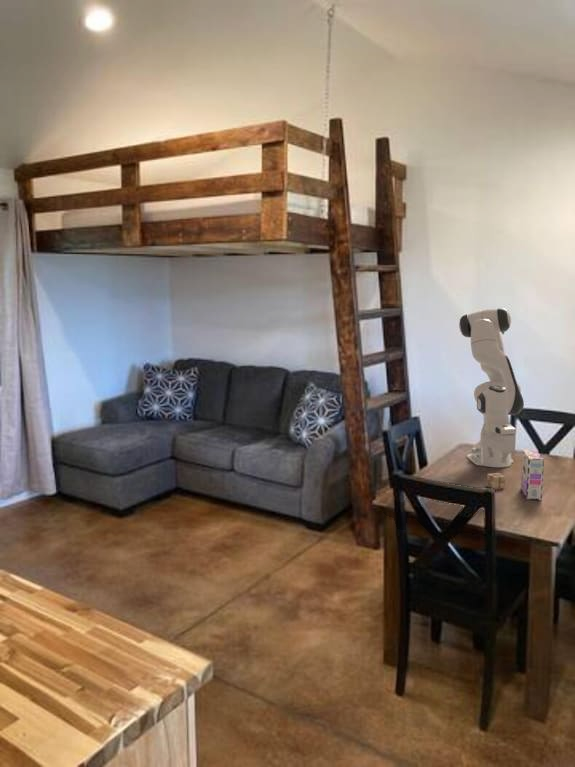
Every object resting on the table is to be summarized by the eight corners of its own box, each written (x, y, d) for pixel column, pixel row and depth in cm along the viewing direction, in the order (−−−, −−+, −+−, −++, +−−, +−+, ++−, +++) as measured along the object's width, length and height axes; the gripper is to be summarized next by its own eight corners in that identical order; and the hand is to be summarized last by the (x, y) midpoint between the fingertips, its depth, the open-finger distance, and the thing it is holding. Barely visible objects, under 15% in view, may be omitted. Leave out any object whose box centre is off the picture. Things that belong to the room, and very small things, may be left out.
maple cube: (487, 485, 257) (487, 473, 256) (497, 484, 258) (498, 472, 257) (493, 489, 252) (494, 477, 251) (504, 488, 253) (505, 476, 252)
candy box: (542, 500, 238) (544, 459, 236) (526, 499, 239) (528, 458, 237) (535, 489, 251) (537, 449, 249) (520, 488, 253) (522, 449, 250)
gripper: (476, 422, 260) (476, 454, 262) (504, 431, 241) (503, 466, 242) (490, 421, 262) (490, 453, 264) (518, 430, 242) (518, 464, 244)
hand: (496, 459), depth 253 cm, fingers open, 8 cm apart
